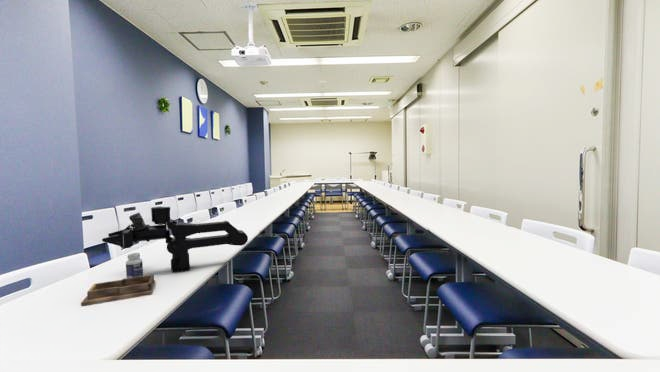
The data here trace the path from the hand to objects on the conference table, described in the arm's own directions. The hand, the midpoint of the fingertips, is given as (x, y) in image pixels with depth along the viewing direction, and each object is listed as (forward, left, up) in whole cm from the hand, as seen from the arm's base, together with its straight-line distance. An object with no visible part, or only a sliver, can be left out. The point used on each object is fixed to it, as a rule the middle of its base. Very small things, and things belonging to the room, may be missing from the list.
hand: (105, 237), depth 116 cm
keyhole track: (-7, +18, -17) cm, 26 cm away
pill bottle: (-9, +4, -17) cm, 20 cm away
